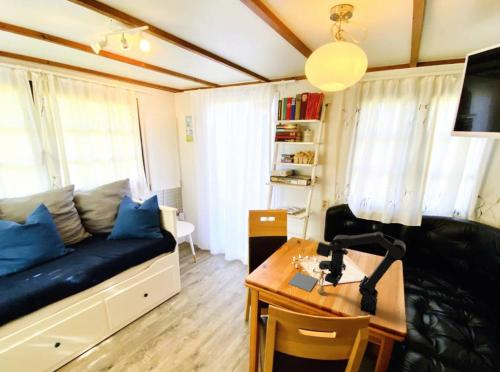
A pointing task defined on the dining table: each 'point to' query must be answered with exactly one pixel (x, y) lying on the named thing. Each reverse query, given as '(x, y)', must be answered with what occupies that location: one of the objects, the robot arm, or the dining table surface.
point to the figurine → (319, 287)
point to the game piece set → (306, 257)
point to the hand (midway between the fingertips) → (334, 286)
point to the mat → (303, 281)
